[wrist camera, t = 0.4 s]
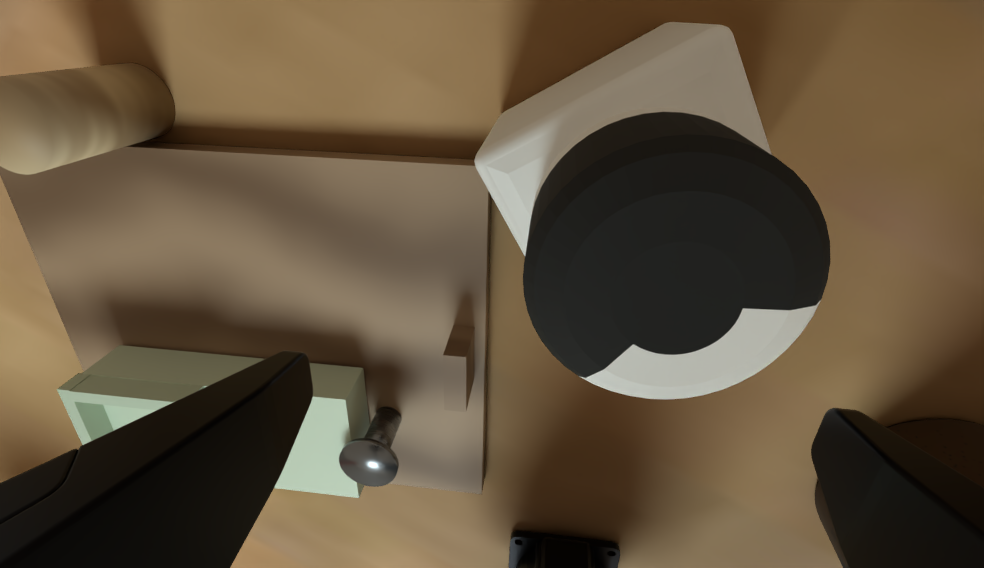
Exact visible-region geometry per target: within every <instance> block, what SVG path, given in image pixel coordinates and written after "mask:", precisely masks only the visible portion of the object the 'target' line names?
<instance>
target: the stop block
mask: <svg viewBox="0 0 984 568" xmlns="http://www.w3.org/2000/svg"><path fill="white" fill-rule="evenodd" d="M474 341H475V327H468V326H457V325H453V328H452V330H451V333H450V336H449V339H448V342H447V345H446V348H445V351H444V354H443V380H444V410H449V411H459V412H466V411H467V407H468V403H469V398H470V394H471V390H472V386H473V382H474Z"/></svg>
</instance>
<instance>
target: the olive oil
mask: <svg viewBox="0 0 984 568" xmlns="http://www.w3.org/2000/svg"><path fill="white" fill-rule="evenodd" d="M887 428H888V429H889V430H891V431H892V432H894V433H896V434H897V435H899V436H901V437H902V438H904V439H905V440H907V441H909V442H910V443H912V444H914V445H915V446H917V447H918V448H920V449H922V450H923V451H925V452H927V453H928V454H930V455H931V456H933V457H935V458H936V459H938V460H940V461H941V462H943V463H945V464H946V465H948V466H949V467H951V468H953V469H954V470H956V471H958V472H959V473H961V474H962V475H964V476H966V477H967V478H969V479H971V480H972V481H974V482H975V483H977V484H979V485H980V486H982V487H984V426H983V425H980V424H976V423H972V422H967V421H961V420H950V419H930V420H919V421H912V422H907V423H902V424H898V425H894V426H891V427H887ZM815 504H816V508H817V512H818V515H819V517H820V520H821V522H822V524H823V526H824V528H825V530H826V532H827V535H828V537H829V539H830V541H831V543H832V545H833V547H834V549H835V551H836V553H837V555H838V558H839V560H840V562H841V564H842V566H843V568H849V567H848V565H847V563H846V560H845V558H844V555H843V553H842V550H841V548H840V545H839V542H838V540H837V537H836V534H835V531H834V528H833V525H832V521H831V518H830V515H829V512H828V509H827V505H826V502H825V499H824V496H823V493H822V489H821V486H820V483H819V481H818V484H817V487H816V492H815Z"/></svg>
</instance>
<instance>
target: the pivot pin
mask: <svg viewBox="0 0 984 568" xmlns="http://www.w3.org/2000/svg"><path fill="white" fill-rule="evenodd" d="M401 421H402V417H401V414H400V413H399V412H398V411H397V410H396V409H394V408H392V407H388V406H385V407H381V408H379V409H378V410H377V411H376V413H375V415H374V418H373V420H372V422H371V424H370V426H369V428H368V431H367V433H366V435H365V437H364V438H358V439H354V440H351V441H349V442H348V443H347V444H345V446H344V447H343V449H342V451H341V453H340V455H339V464H340V467H341V469H342V470H343V472H344V473H345V474H346V475H347V476H348V477H349V478H351V479H352V480H354V481H355V482H357V483H360V484H362V485H366V486H374V487H375V486H383V485H386V484H388V483H390V482H391V481H393V479H394V478H395V477H396V474H397V471H398V468H399V461H398V458H397V456H396V454H395V453H394V451H393V450H392V449H391V446H392V444H393V441H394V439H395V436H396V433H397V431H398V428H399V426H400V423H401Z"/></svg>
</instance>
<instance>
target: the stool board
mask: <svg viewBox="0 0 984 568" xmlns="http://www.w3.org/2000/svg"><path fill="white" fill-rule="evenodd" d="M474 161H475V160H474V159H455V158H437V157H418V156H399V155H381V154H362V153H344V152H325V151H307V150H288V149H269V148H251V147H232V146H214V145H195V144H177V143H158V142H139V143H136V144H133V145H129V146H126V147H123V148H119V149H116V150H113V151H109V152H106V153H103V154H99V155H96V156H92V157H89V158H86V159H82V160H79V161H76V162H72V163H69V164H66V165H62V166H59V167H56V168H52V169H49V170H46V171H42V172H39V173H36V174H30V175H25V174H18V173H14V172H12V171H9V170H7V169H5V168H3V167H1V166H0V175H1V178H2V180H3V183H4V185H5V187H6V190H7V192H8V194H9V197H10V199H11V201H12V204H13V206H14V208H15V211H16V213H17V216H18V218H19V220H20V223H21V225H22V227H23V230H24V232H25V234H26V237H27V239H28V241H29V244H30V246H31V249H32V251H33V253H34V256H35V258H36V260H37V263H38V265H39V267H40V270H41V272H42V274H43V277H44V279H45V282H46V284H47V286H48V289H49V291H50V293H51V296H52V298H53V300H54V303H55V305H56V308H57V310H58V312H59V315H60V317H61V319H62V322H63V324H64V326H65V329H66V331H67V333H68V336H69V338H70V341H71V343H72V345H73V348H74V350H75V352H76V355H77V357H78V359H79V362H80V364H81V366H82V369H83V371H85V370H87V369H88V368H89V367H91V366H92V365H93V364H95V363H96V362H98V361H99V360H100V359H102V358H103V357H104V356H106V355H107V354H108V353H110V352H111V351H112V350H114V349H115V348H116V347H118V346H119V345H123V346H134V347H145V348H155V349H166V350H177V351H187V352H198V353H209V354H220V355H230V356H241V357H252V358H262V359H266V358H268V357H271V356H273V355H275V354H277V353H279V352H281V351H296V352H304V353H305V354H306V355H307V356H308V358H309V363H316V364H326V365H337V366H348V367H359V368H363V370H364V379H365V388H366V396H367V405H368V414H369V423H370V424H371V422H372V420H373V418H374V415H375V413H376V411H377V410H378V409H379V408H381V407H385V406H388V407H392V408H394V409H396V410H397V411H398V412H399V413H400V414H401V417H402V421H401V423H400V426H399V428H398V431H397V433H396V436H395V439H394V441H393V444H392V446H391V449H392V450H393V451H394V453H395V454H396V456H397V458H398V461H399V468H398V471H397V474H396V477H395V478H394V479H393V481H391V482H390V483H388V484H397V485H406V486H414V487H423V488H432V489H441V490H449V491H458V492H467V493H476V494H482V490H483V484H484V464H485V422H486V381H487V340H488V298H489V257H490V216H491V194H490V192H489V191H488V189H487V187H486V185H485V183H484V182H483V180H482V178H481V176H480V174H479V173H478V171H477V169H476V166H475V162H474ZM453 325H457V326H468V327H475V341H474V382H473V386H472V390H471V394H470V398H469V403H468V407H467V411H466V412H459V411H449V410H444V380H443V354H444V351H445V348H446V345H447V342H448V339H449V336H450V333H451V330H452V328H453Z"/></svg>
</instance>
